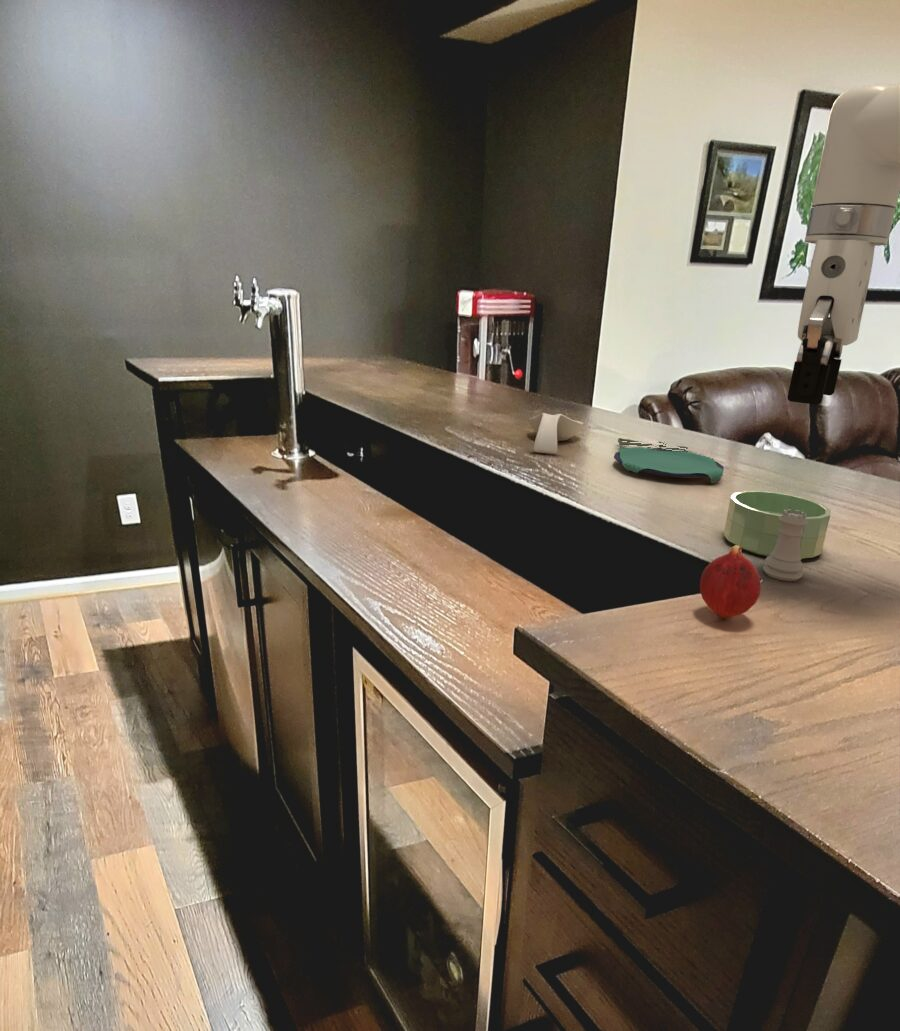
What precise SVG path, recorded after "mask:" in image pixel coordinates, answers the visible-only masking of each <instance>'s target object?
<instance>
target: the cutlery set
mask: <svg viewBox="0 0 900 1031" xmlns="http://www.w3.org/2000/svg"><path fill="white" fill-rule="evenodd" d="M622 441H627V442H622ZM630 442H639V440H635V439H634V440H632V439H629V438H623V437H618V438H617V443H618V445H619V449H618V451H617V452H615V453H614V454H613V459H614V460H615V461H616V462H617V463H618V464H621V465H622V466H623V468H624V469H625V470H627V471H631V472H633V473H636V474H638V473H639V472H641V473H642V472H643V473H647V474H651V475H656V476H663V477H671V478H683V479H685V478H686V479H695V478H697V479H698V478H699V479H700V478H707V477H708V478H710V479H711V484H712V485H713V484H714V483H716V482H718V481H719V480H720V479H721V478H722V477H723V475H724V470H725V468H724V465H722V464H721V463H719V462H718V461H716V460H715V459H714V458H712V457H710V456H706V455H702V454H698V453H694V452H691V451H686V450H685V449H679V448H666V449H672V450H684V451H672V450H666V449H662V448H661V447H666V446H663V445H658V447H659V448H651V447H642V446H653V445H652V444H641V443H630ZM658 443H663V442H662V441H658ZM664 443H665V442H664ZM664 443H663V444H664ZM666 444H667V443H666ZM666 444H665V445H666ZM629 445H637V446H633V447H625V446H629ZM677 446H678V447H680V448H686V449H689V448H688V446H687V447H685V446H682V445H677Z"/></svg>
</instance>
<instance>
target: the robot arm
mask: <svg viewBox="0 0 900 1031" xmlns="http://www.w3.org/2000/svg"><path fill="white" fill-rule="evenodd" d="M823 142H824V143H823V147H822V153H821V156H820V157H821V158H820V162H819V168H818V172H817V177H816V183H815V187H814V192H813V197H812V202H811V208H810V212H809V217H808V221H807V227H806V233H805V237H804V243H805V244H806V243H807V244H812V245H813V244H814V245H815V246H814V250H813V254H812V258H811V261H810V266H809V272H808V276H807V280H806V285H805V290H804V295H803V299H802V304H801V310H800V316H799V321H798V328H797V338H798V339H799V341H800V342H801V343H800V346H799V349H798V351H797V355H796V361H794V364H793V369H792V373H791V378H790V383H789V388H788V391H787V392H788V393H787V396H786V397H787V401H788V402H791V403H792V402H793V403H800V404H808V405H815V406H818V405H820V404H821V403H822V402H823V398H824V396H833V395H834V394H835V390H836V387H837V382H838V377H839V373H840V369H841V364H842V360H843V359H841V357H842V353H843V347H844V346H848V345H851V344H853V343H855V342H856V341H857V340H858V338H859V332H860V328H861V321H862V318H863V313H864V308H865V303H866V298H867V295H868V294H867V293H868V289H869V284H870V279H871V274H872V269H873V264H874V256H875V248H876V247H880V246H887V245H888V243H889V237H890V235H891V231H892V230H891V229H892V224H893V221H894V217H895V212H896V208H897V205H898V200H899V197H900V83H898V84H896V83H877V84H876V83H875V84H867V85H860V86H857V87H854V88H850V89H847V90H844V92H842V93H841V94H840V95H839V96H838V97H837V98H836V99H835V100H834V102H833V104H832V107H831V110H830V114H829V117H828V122H827V127H826V133H825V139H824V141H823Z"/></svg>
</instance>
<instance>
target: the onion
mask: <svg viewBox="0 0 900 1031" xmlns="http://www.w3.org/2000/svg"><path fill="white" fill-rule="evenodd" d="M742 550H743V549H742V548H740V547H739V546H737V545H735V544H734V546H731V549H730V551H729V552H728V553H727V554H724V555H723V554H722V555H721V556H718V557H716V558H715V559H713V560H712V561H710V562H709V563H708V564H707V565H706V566H705V568H704V569H703V571H702V573H701V576H700V581H699V593H700V595H701V597H702V600H703V602H704V603H705V605H706V606H707V608H709V609H710V610H711V611H712V612H713V613H714V614H715V615H716V616H717V617H718V618H719V619H722V620H728V619H732V618H733V617H737V616H740V615H743V614H745V613H747V612H748V611H749V610H750V609H751V608H752V607H753V606H754V605H755V604H757V602H758V600H759V598H760V594H761V589H762V586H761V578H760V575H759V572H758V570H757V568H756V566H755V565H754V564H753V563H752V562H751V561H750V560H749V559H748V558H747V557H745V556H744V554H743V553H742Z"/></svg>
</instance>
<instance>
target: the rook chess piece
mask: <svg viewBox="0 0 900 1031" xmlns="http://www.w3.org/2000/svg"><path fill="white" fill-rule="evenodd" d="M791 512H792V510H791V509H787V510H784V511H783V514H782V515H781V516H780V517H779V520H780V522H781V528H780V529H779V530H778V531H779V537H778V540H777V543H776V546H775V548H774V550H773V551H772V552H771V553H770V554H771V555H769V556H768V557H766V558H765V559H764V563H765V565H763V566H762V569H763V571H764V573H765V575H767V576H768V577H770V578H772V579H775V580H779V581H784V582H796V581H798V580H800V579H801V578H802V577H803V573H802V571H803V570H804V564H803V562H802V561H801V560H802V559H801V557H800V541H801V537H802V536H803V535H804V534H803V532H802V531H803V527H805V526H806V525H807V524H808V521H807V519H806V516H807V514H806V513H804V512H802V513H801V515H799V512H800V511H798V510H795V513H791Z"/></svg>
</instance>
